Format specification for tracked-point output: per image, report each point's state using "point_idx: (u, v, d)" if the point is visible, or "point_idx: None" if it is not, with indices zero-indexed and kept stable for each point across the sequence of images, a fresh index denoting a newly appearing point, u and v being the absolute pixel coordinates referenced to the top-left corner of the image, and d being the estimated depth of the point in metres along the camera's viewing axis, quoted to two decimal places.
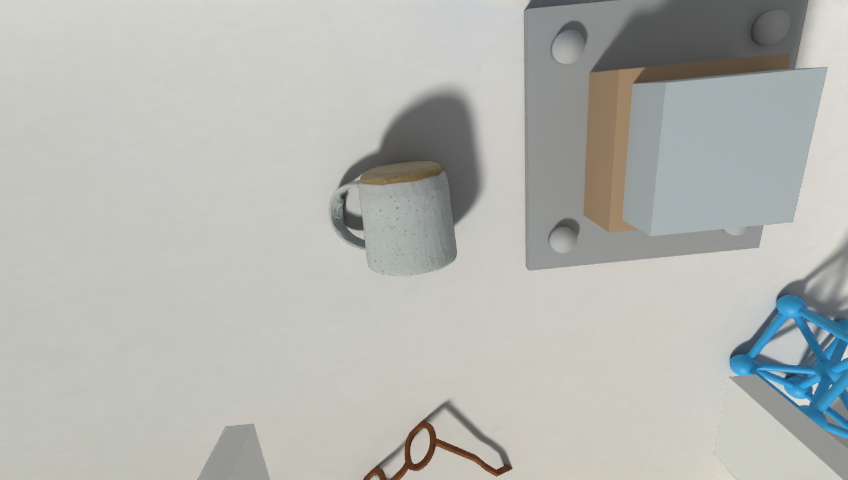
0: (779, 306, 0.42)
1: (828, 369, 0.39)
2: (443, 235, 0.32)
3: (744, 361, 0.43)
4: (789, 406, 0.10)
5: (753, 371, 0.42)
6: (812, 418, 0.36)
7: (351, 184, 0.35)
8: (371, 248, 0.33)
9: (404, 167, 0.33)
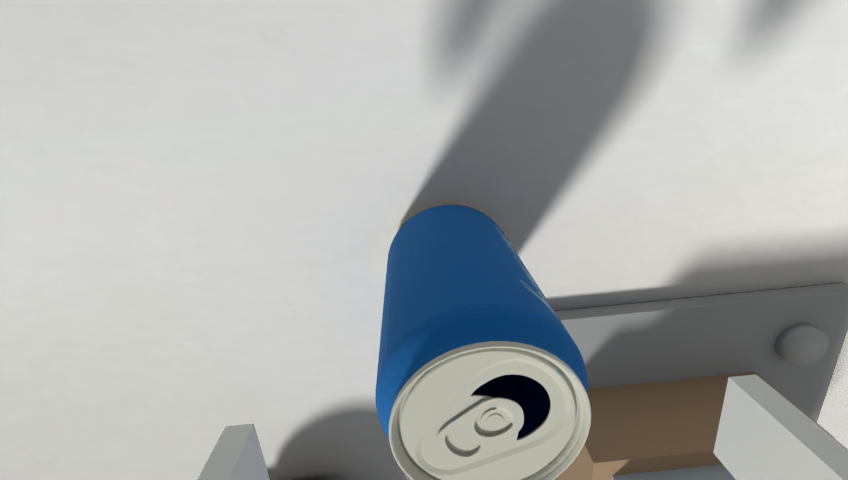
0: None
1: None
2: None
3: None
4: (789, 406, 0.10)
5: None
6: None
7: None
8: None
9: None
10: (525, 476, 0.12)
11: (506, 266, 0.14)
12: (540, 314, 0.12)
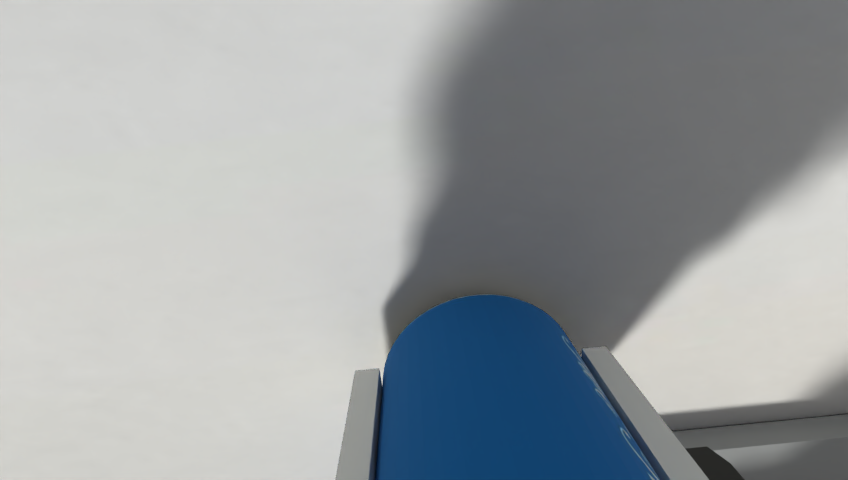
0: None
1: None
2: None
3: None
4: (620, 370, 0.12)
5: None
6: None
7: None
8: None
9: None
10: None
11: None
12: None
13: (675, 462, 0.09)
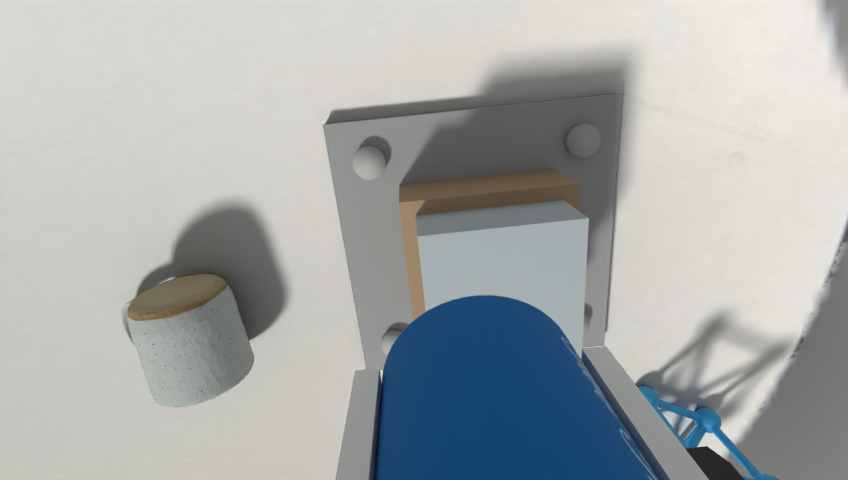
0: None
1: None
2: (215, 364, 0.31)
3: None
4: (620, 370, 0.12)
5: None
6: None
7: None
8: (145, 375, 0.31)
9: (181, 289, 0.32)
10: None
11: None
12: None
13: (675, 462, 0.09)
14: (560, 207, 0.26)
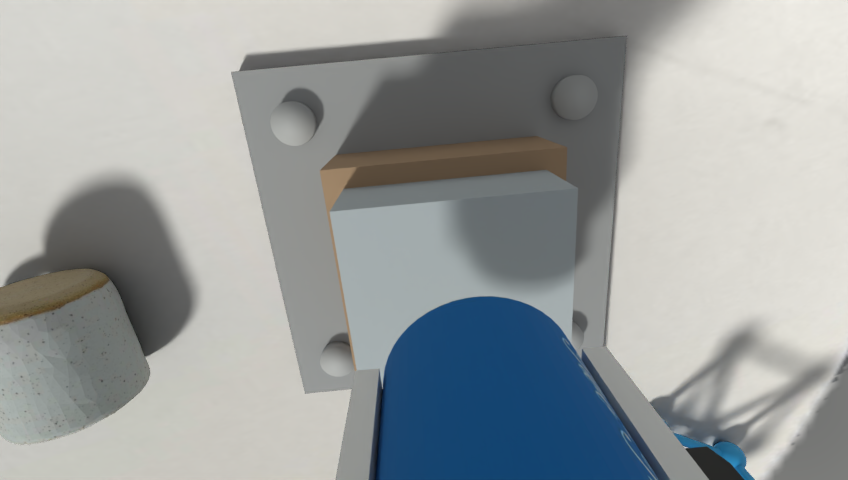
0: None
1: None
2: (78, 387, 0.23)
3: None
4: (620, 370, 0.12)
5: None
6: None
7: None
8: None
9: (41, 287, 0.24)
10: None
11: None
12: None
13: (675, 462, 0.09)
14: (540, 177, 0.19)
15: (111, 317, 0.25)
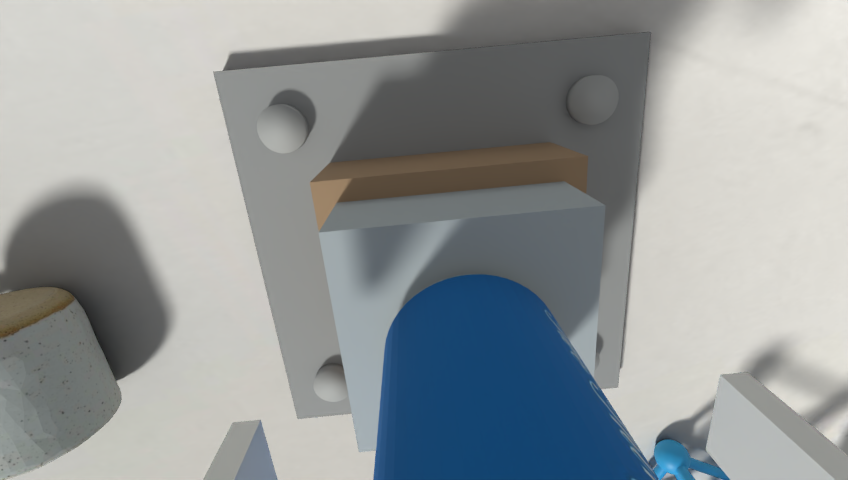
0: (656, 456, 0.31)
1: None
2: (35, 420, 0.21)
3: None
4: (779, 403, 0.10)
5: None
6: None
7: None
8: None
9: None
10: None
11: (596, 435, 0.08)
12: None
13: None
14: (558, 190, 0.17)
15: (74, 341, 0.23)
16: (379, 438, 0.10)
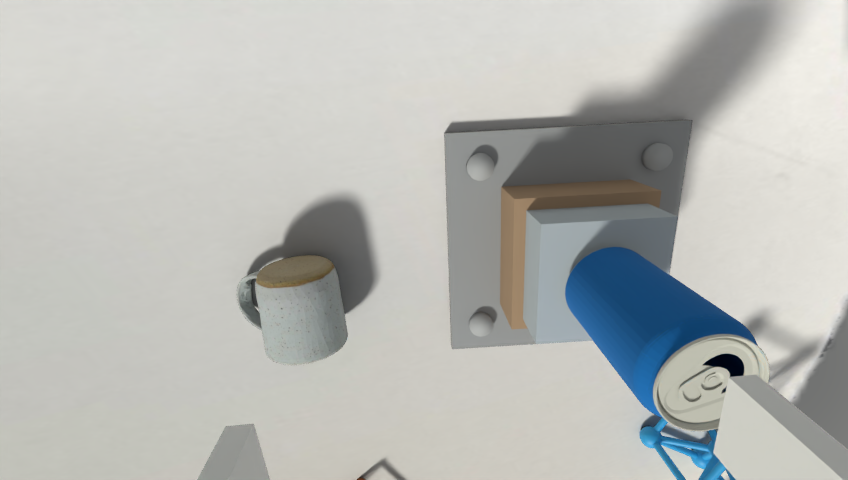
0: None
1: None
2: (326, 329, 0.36)
3: (650, 434, 0.47)
4: (789, 406, 0.10)
5: (657, 444, 0.47)
6: None
7: (253, 276, 0.39)
8: (264, 337, 0.37)
9: (298, 265, 0.38)
10: None
11: (694, 292, 0.24)
12: None
13: None
14: (648, 208, 0.32)
15: (338, 287, 0.38)
16: (597, 305, 0.26)
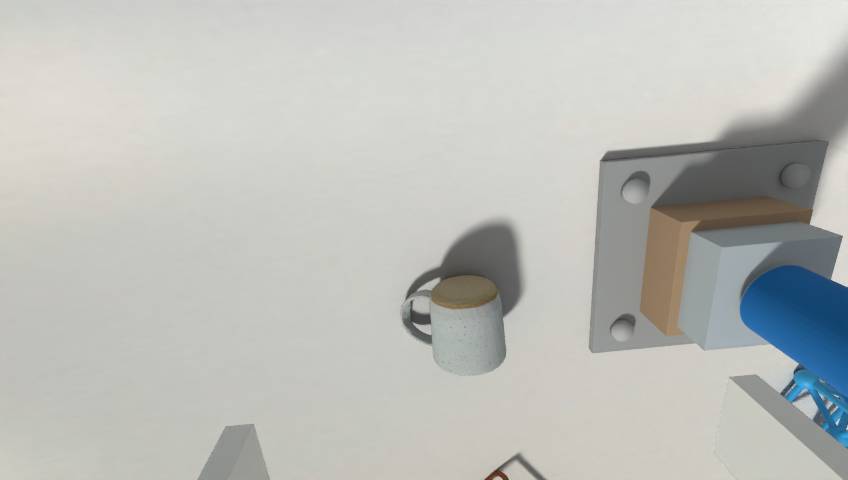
0: (796, 379, 0.50)
1: (837, 435, 0.48)
2: (498, 343, 0.41)
3: None
4: (789, 406, 0.10)
5: None
6: None
7: (421, 296, 0.43)
8: (440, 352, 0.41)
9: (465, 286, 0.42)
10: None
11: None
12: None
13: None
14: (806, 227, 0.36)
15: None
16: (796, 320, 0.30)
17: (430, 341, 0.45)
